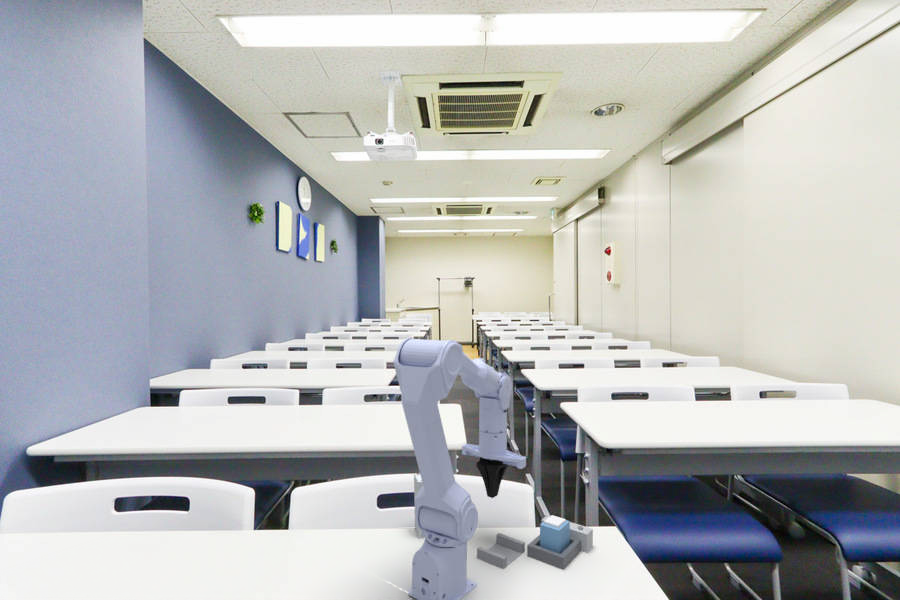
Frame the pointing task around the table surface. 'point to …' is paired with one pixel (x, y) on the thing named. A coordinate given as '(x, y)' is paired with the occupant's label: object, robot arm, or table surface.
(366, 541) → the table surface
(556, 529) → the plug
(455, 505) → the robot arm
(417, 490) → the skincare box
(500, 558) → the grey u-shaped bracket
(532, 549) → the port
